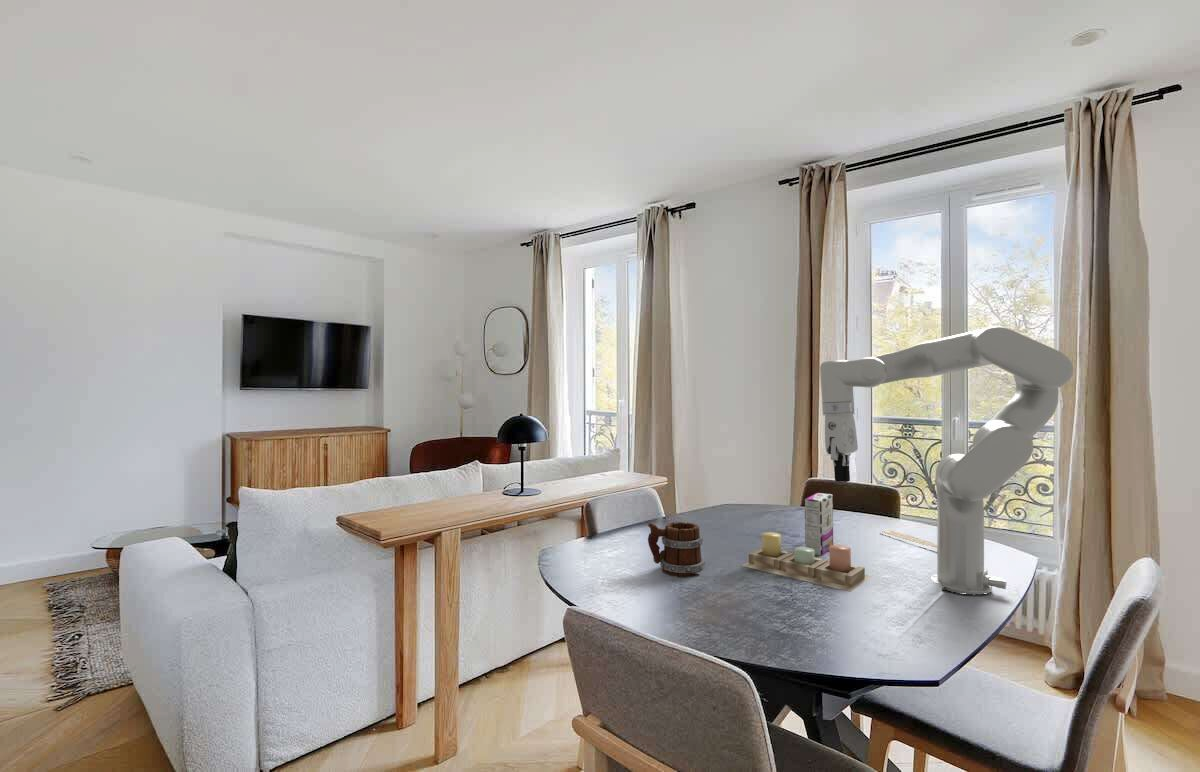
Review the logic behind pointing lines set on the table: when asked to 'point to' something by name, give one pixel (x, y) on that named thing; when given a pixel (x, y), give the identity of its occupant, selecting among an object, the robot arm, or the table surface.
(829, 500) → the candy bar box
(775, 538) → the mustard button
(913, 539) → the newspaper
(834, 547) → the salmon orange rounded piece
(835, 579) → the wooden compartment tray
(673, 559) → the mug
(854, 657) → the table surface
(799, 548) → the sage button
